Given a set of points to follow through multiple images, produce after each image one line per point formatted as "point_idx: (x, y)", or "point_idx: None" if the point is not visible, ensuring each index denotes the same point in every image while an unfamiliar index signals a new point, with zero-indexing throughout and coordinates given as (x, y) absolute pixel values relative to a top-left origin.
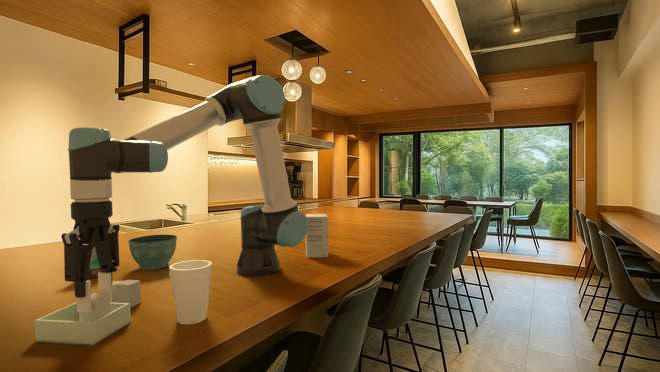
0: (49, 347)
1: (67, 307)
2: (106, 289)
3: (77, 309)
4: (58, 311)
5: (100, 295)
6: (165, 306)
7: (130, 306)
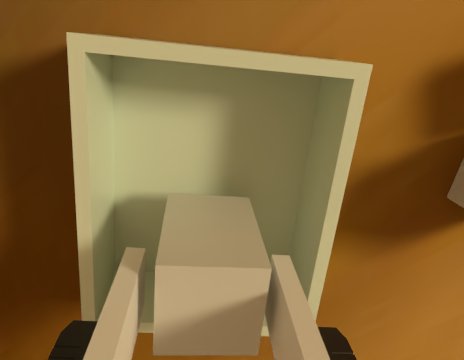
0: (68, 137)
1: (271, 70)
2: (278, 346)
3: (124, 254)
4: (210, 64)
5: (223, 332)
6: (435, 317)
7: (454, 200)
